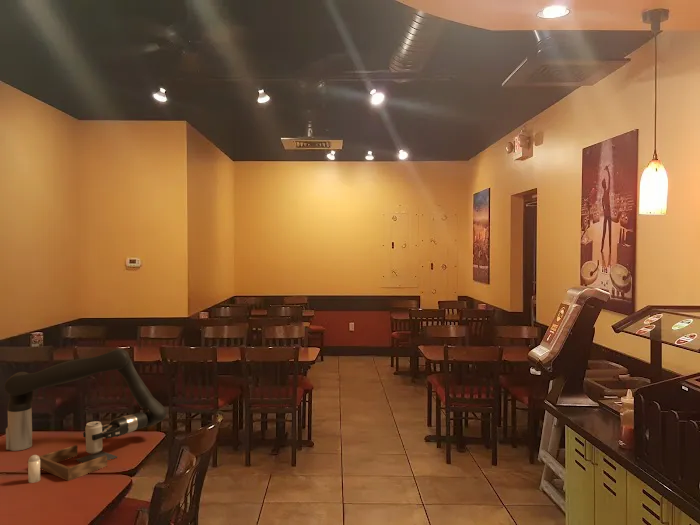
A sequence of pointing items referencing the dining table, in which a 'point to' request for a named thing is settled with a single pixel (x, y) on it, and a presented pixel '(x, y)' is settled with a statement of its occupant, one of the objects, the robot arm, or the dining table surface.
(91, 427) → the beverage can
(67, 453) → the condiment rack
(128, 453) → the dining table surface
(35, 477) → the salt shaker
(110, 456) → the coaster
